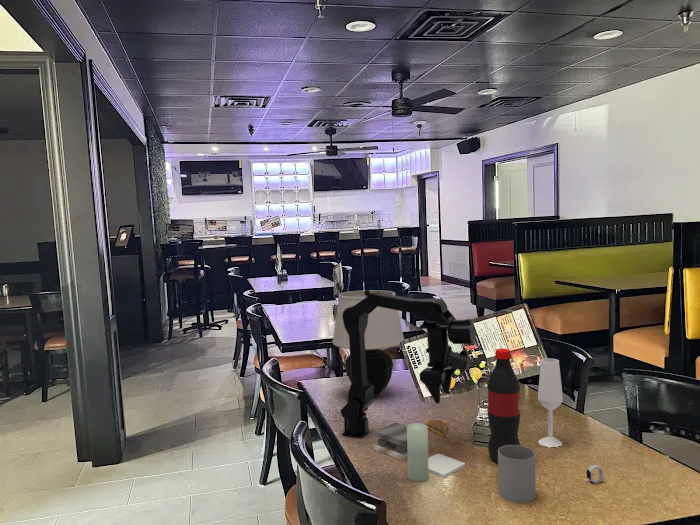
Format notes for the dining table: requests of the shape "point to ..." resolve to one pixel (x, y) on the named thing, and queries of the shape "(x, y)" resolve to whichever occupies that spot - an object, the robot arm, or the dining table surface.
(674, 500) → the dining table surface
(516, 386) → the cola bottle
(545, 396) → the champagne flute
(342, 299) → the table lamp
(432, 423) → the shard
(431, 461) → the pad
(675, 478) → the dining table surface
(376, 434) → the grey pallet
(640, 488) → the dining table surface
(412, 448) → the roller
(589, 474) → the smartwatch
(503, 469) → the cup
